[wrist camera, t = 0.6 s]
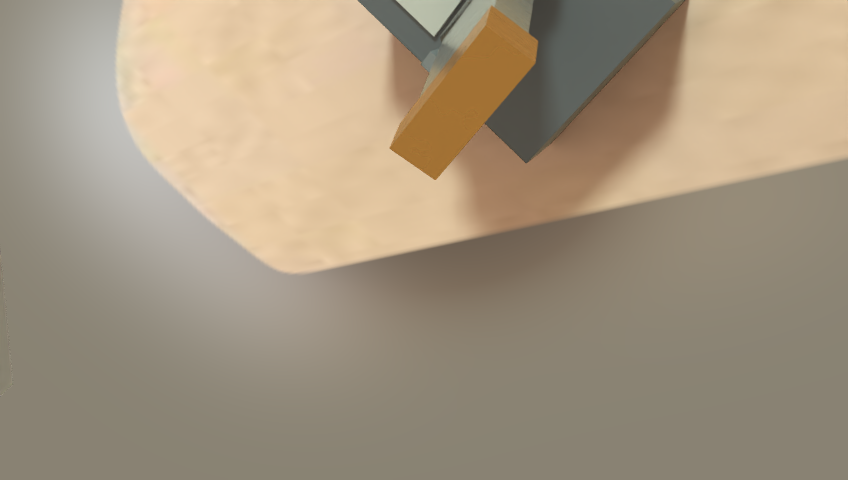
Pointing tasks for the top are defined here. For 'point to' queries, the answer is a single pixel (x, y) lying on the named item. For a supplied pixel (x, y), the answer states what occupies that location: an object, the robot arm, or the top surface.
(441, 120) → the lever
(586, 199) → the top surface
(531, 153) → the switch box
